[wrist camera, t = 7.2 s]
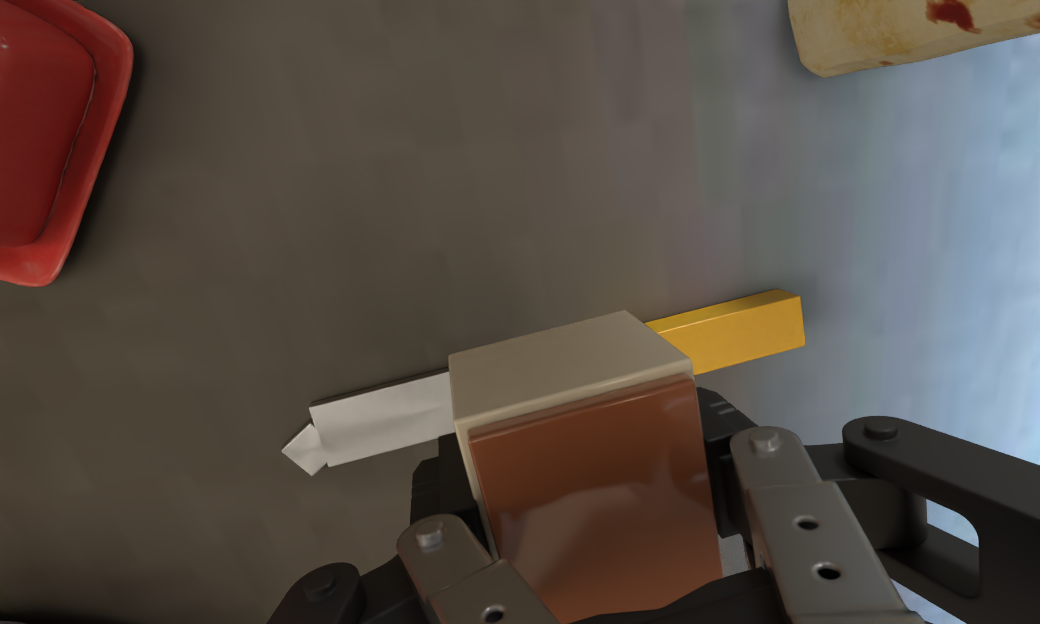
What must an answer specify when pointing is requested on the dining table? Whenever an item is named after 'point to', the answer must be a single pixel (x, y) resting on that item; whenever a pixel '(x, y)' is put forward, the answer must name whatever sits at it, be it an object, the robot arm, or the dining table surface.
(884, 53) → the food model
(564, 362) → the salt cellar
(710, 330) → the knife
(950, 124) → the dining table surface
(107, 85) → the butter dish
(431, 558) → the robot arm
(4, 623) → the perforated stone tool
